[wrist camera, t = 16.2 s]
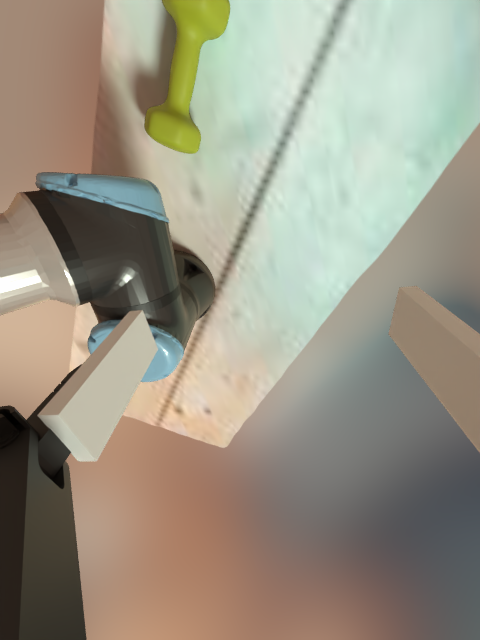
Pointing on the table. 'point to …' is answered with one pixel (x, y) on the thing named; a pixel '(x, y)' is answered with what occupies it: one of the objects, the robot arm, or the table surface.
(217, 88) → the table surface
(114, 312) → the robot arm
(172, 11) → the dumbbell
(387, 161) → the table surface
